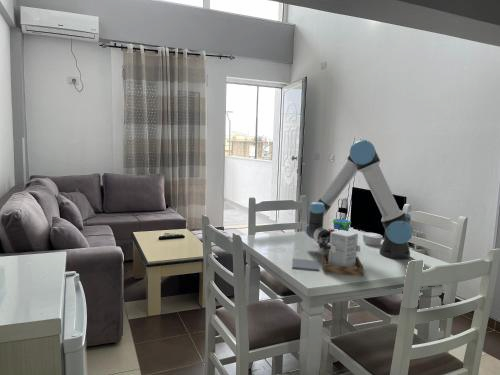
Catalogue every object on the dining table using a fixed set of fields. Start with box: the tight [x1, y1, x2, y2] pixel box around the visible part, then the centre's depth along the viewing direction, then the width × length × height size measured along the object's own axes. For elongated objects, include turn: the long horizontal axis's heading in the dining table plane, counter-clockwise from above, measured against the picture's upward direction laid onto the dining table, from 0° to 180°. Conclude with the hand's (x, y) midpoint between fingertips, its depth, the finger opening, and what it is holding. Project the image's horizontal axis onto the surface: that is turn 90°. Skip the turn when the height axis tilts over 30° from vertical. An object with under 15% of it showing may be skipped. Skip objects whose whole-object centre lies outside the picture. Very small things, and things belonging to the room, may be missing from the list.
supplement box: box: [327, 230, 359, 267], centre depth 174 cm, size 10×9×17 cm
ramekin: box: [362, 232, 384, 246], centre depth 221 cm, size 11×11×5 cm
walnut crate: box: [321, 253, 365, 277], centre depth 174 cm, size 17×17×4 cm
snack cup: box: [332, 218, 352, 231], centre depth 232 cm, size 16×10×10 cm
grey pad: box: [291, 258, 320, 272], centre depth 176 cm, size 12×12×1 cm
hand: (347, 249), depth 170 cm, fingers closed on supplement box, 12 cm apart
